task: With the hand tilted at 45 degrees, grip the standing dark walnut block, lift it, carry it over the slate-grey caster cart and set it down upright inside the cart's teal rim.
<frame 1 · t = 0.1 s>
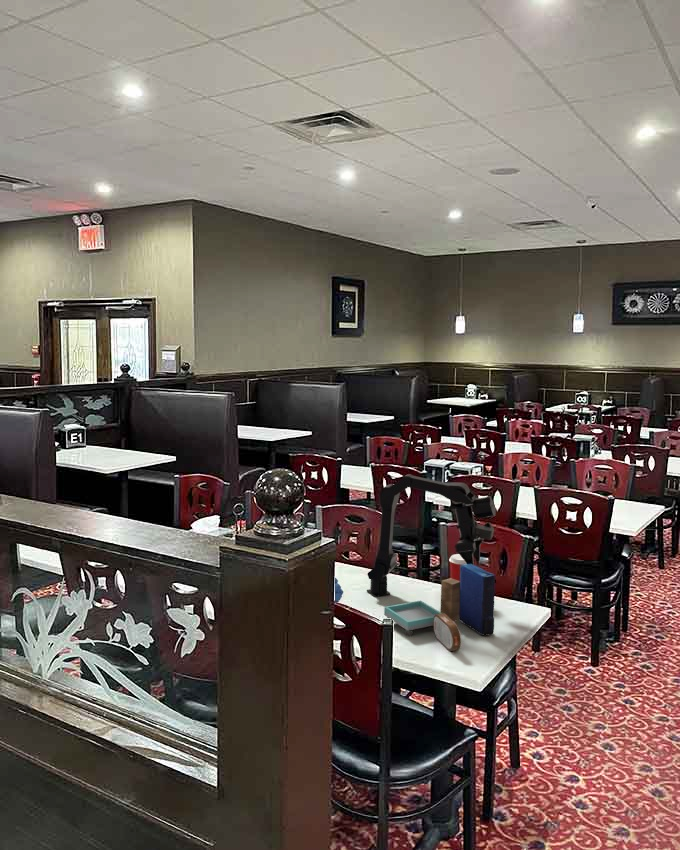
hand: (475, 564, 256), 15 cm above the table, tool pointing down, fingers open, 9 cm apart
book: (475, 629, 241), on the table
caster cart: (413, 626, 242), on the table
grapes: (334, 610, 254), on the table
tin: (445, 645, 228), on the table
coffee cup: (459, 598, 268), on the table
walnut block: (449, 619, 248), on the table
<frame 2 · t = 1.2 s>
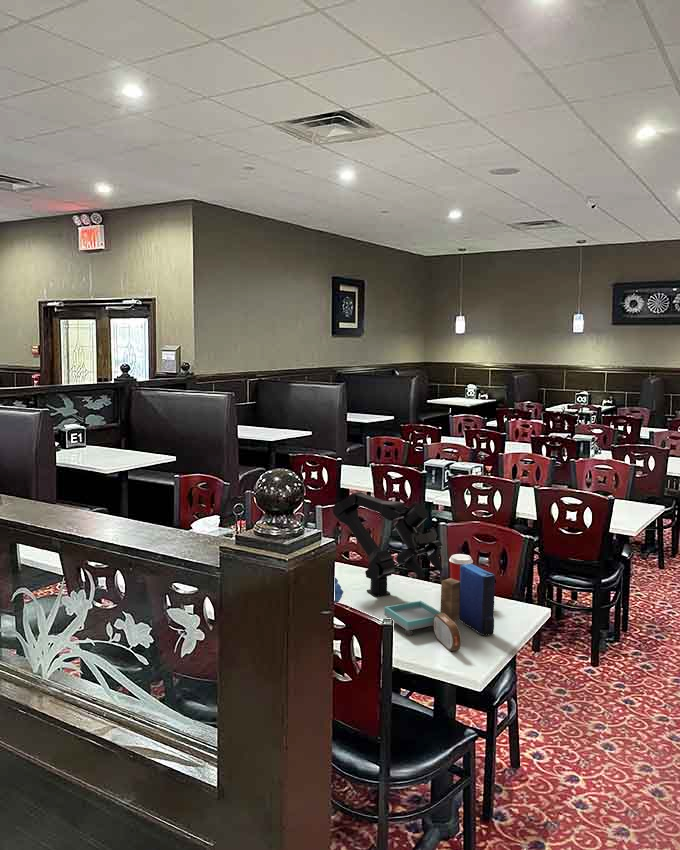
hand: (432, 573, 252), 13 cm above the table, tool tilted 45°, fingers open, 9 cm apart
nothing on the table moved.
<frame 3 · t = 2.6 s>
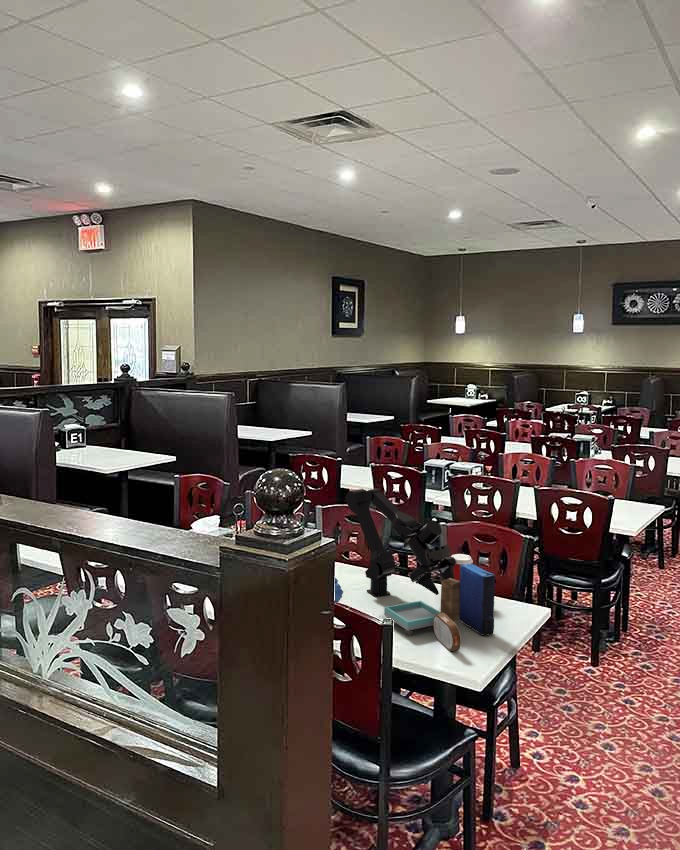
hand: (446, 591, 248), 9 cm above the table, tool tilted 45°, fingers open, 9 cm apart
nothing on the table moved.
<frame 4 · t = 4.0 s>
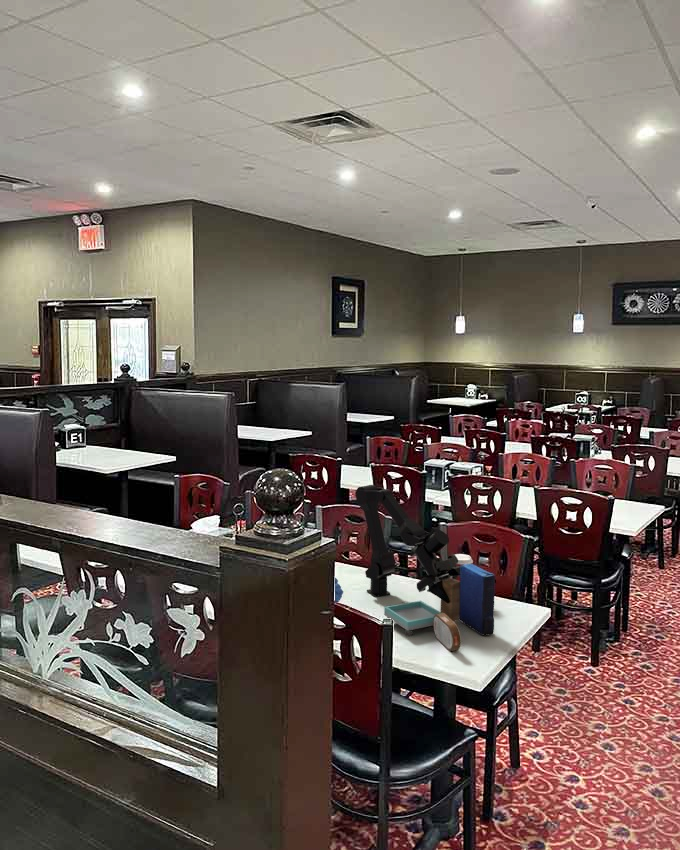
hand: (453, 601, 246), 7 cm above the table, tool tilted 45°, fingers closed on walnut block, 4 cm apart
walnut block: (449, 619, 248), on the table, touching gripper
everything else where it was.
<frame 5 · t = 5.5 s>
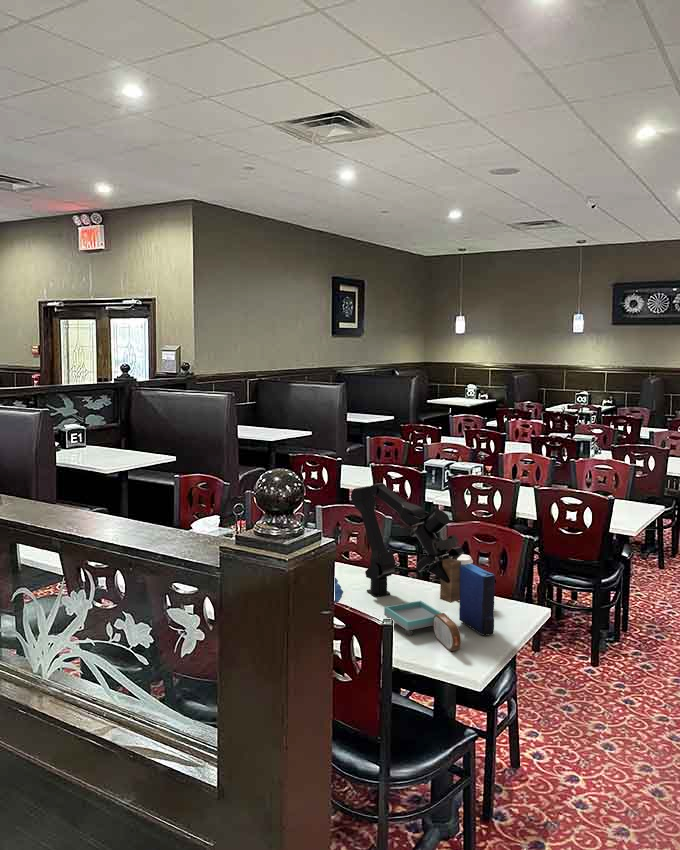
hand: (453, 581, 245), 13 cm above the table, tool tilted 45°, fingers closed on walnut block, 4 cm apart
walnut block: (449, 599, 247), point 7 cm above the table, touching gripper
everything else where it was.
when the fingers open (11 cm above the table, at t = 7.3 s): walnut block drops 1 cm, resting on caster cart.
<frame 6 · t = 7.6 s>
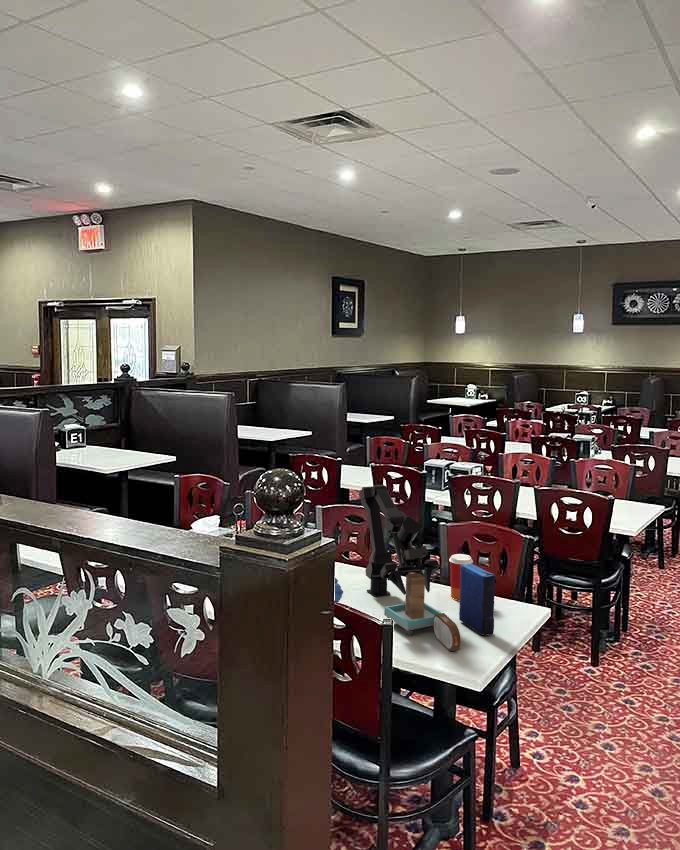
hand: (416, 593, 239), 12 cm above the table, tool tilted 45°, fingers open, 8 cm apart
walnut block: (414, 615, 241), point 4 cm above the table, touching caster cart
everything else where it was.
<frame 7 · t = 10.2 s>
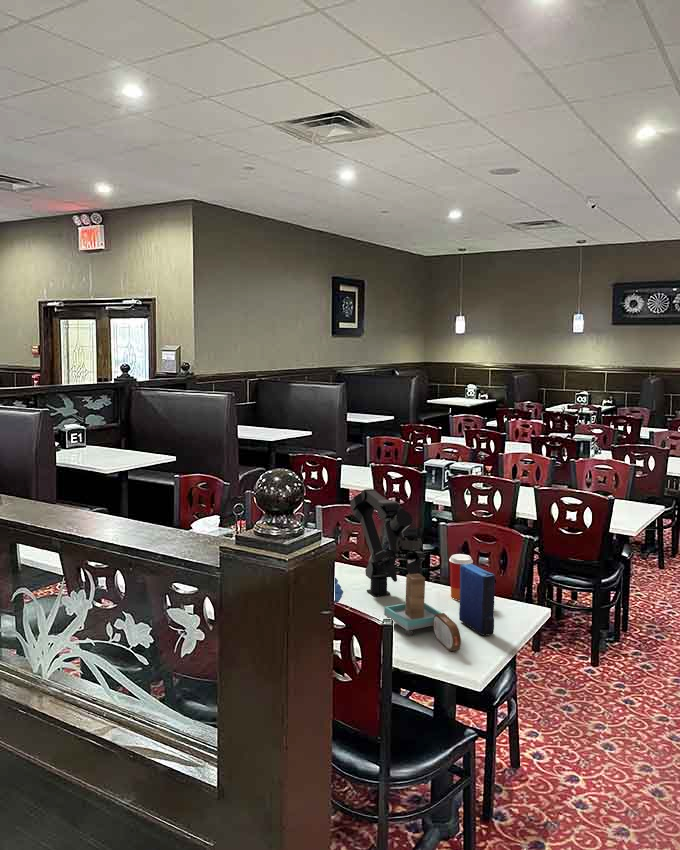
hand: (405, 581, 249), 12 cm above the table, tool tilted 35°, fingers open, 9 cm apart
nothing on the table moved.
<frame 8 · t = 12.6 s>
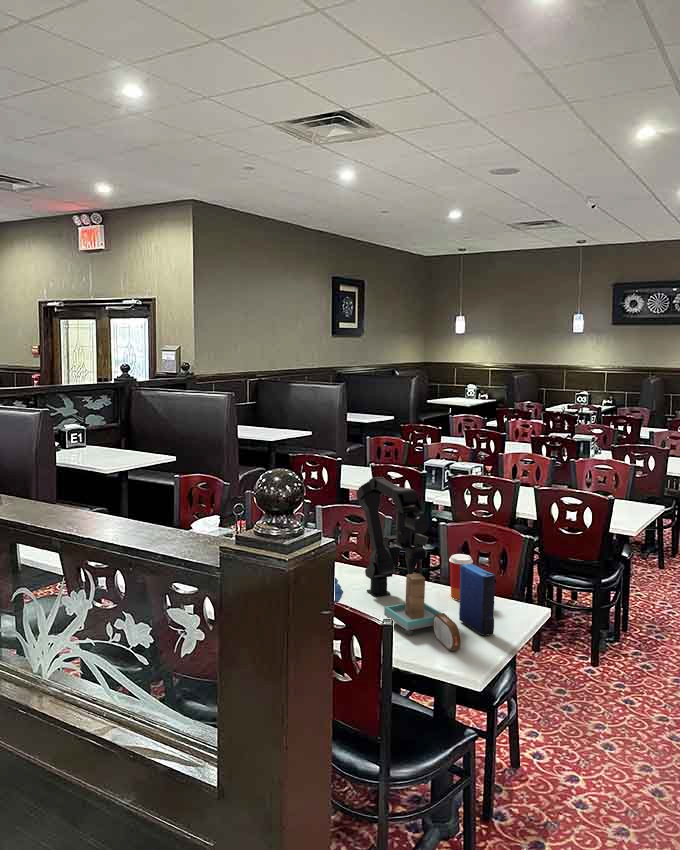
hand: (403, 571, 255), 13 cm above the table, tool pointing down, fingers open, 9 cm apart
nothing on the table moved.
at the end: walnut block inside the target area on the caster cart (0.0 cm from its centre), point 3.6 cm above the caster cart's base; walnut block tilted 0°; the gripper is holding nothing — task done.
